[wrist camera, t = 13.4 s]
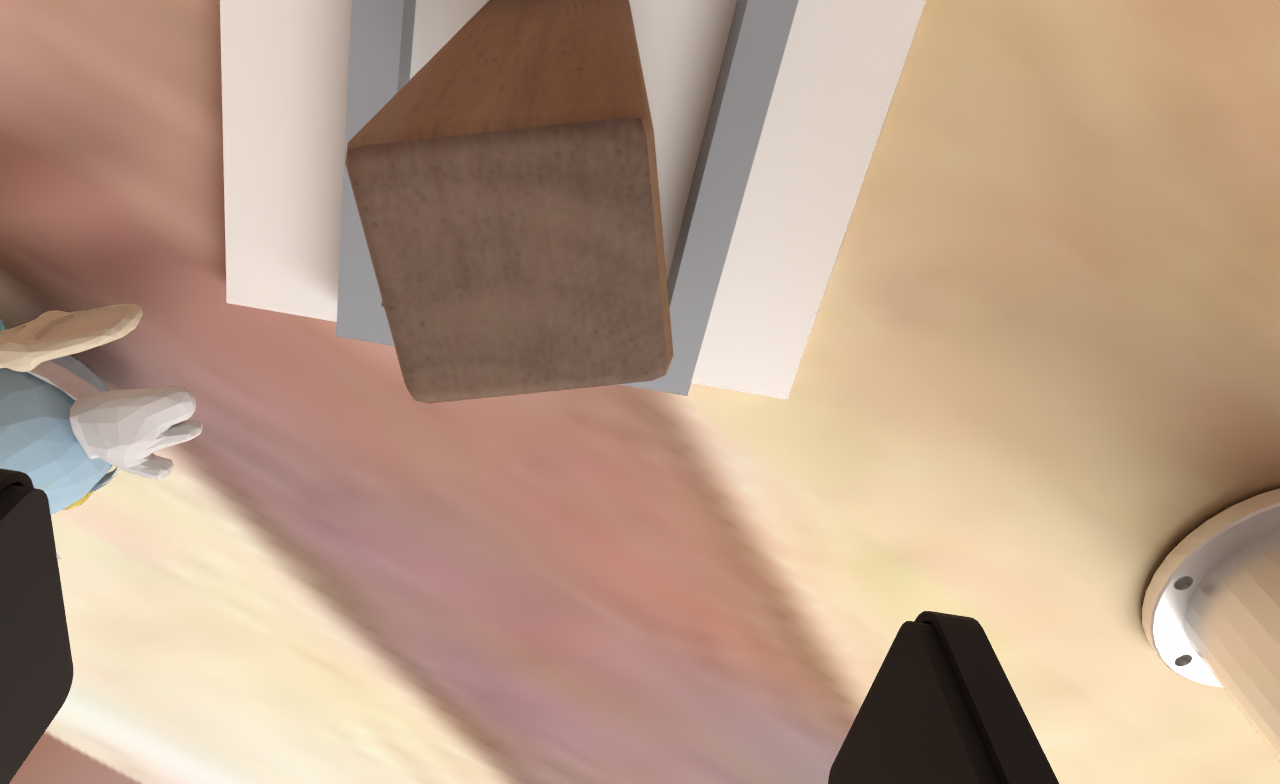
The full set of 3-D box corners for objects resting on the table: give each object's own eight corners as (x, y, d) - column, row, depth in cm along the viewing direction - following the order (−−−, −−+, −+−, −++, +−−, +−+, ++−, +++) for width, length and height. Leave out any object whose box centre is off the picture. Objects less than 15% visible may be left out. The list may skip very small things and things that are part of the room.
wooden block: (652, 248, 32) (695, 591, 17) (530, 261, 32) (459, 614, 17) (626, -20, 28) (652, 107, 12) (485, -4, 28) (330, 142, 12)
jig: (948, -94, 28) (983, -92, 25) (782, 387, 36) (796, 425, 34) (226, -282, 25) (182, -301, 22) (236, 291, 33) (205, 326, 31)
